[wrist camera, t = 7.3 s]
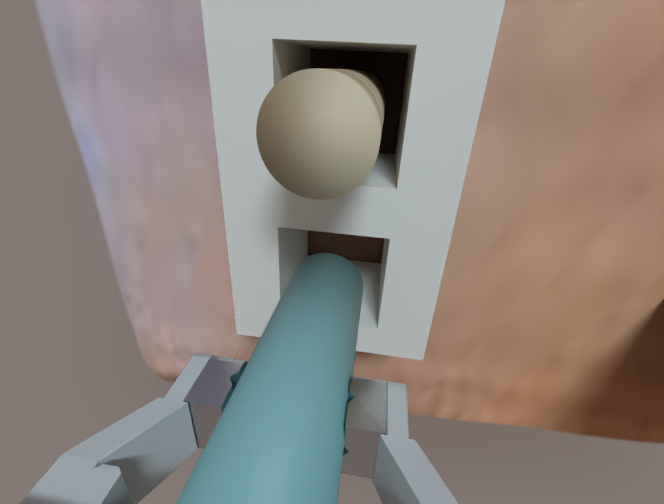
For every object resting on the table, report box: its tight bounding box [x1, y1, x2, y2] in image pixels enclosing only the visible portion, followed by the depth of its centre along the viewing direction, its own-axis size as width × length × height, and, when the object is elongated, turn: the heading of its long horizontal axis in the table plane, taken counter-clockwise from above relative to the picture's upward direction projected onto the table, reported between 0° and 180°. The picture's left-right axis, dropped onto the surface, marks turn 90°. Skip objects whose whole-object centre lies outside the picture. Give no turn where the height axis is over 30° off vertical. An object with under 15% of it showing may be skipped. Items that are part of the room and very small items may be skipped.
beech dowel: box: [256, 68, 386, 200], centre depth 13 cm, size 3×3×10 cm
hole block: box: [201, 0, 505, 360], centre depth 16 cm, size 9×14×6 cm, turn 177°
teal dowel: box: [177, 253, 363, 504], centre depth 10 cm, size 3×3×10 cm
